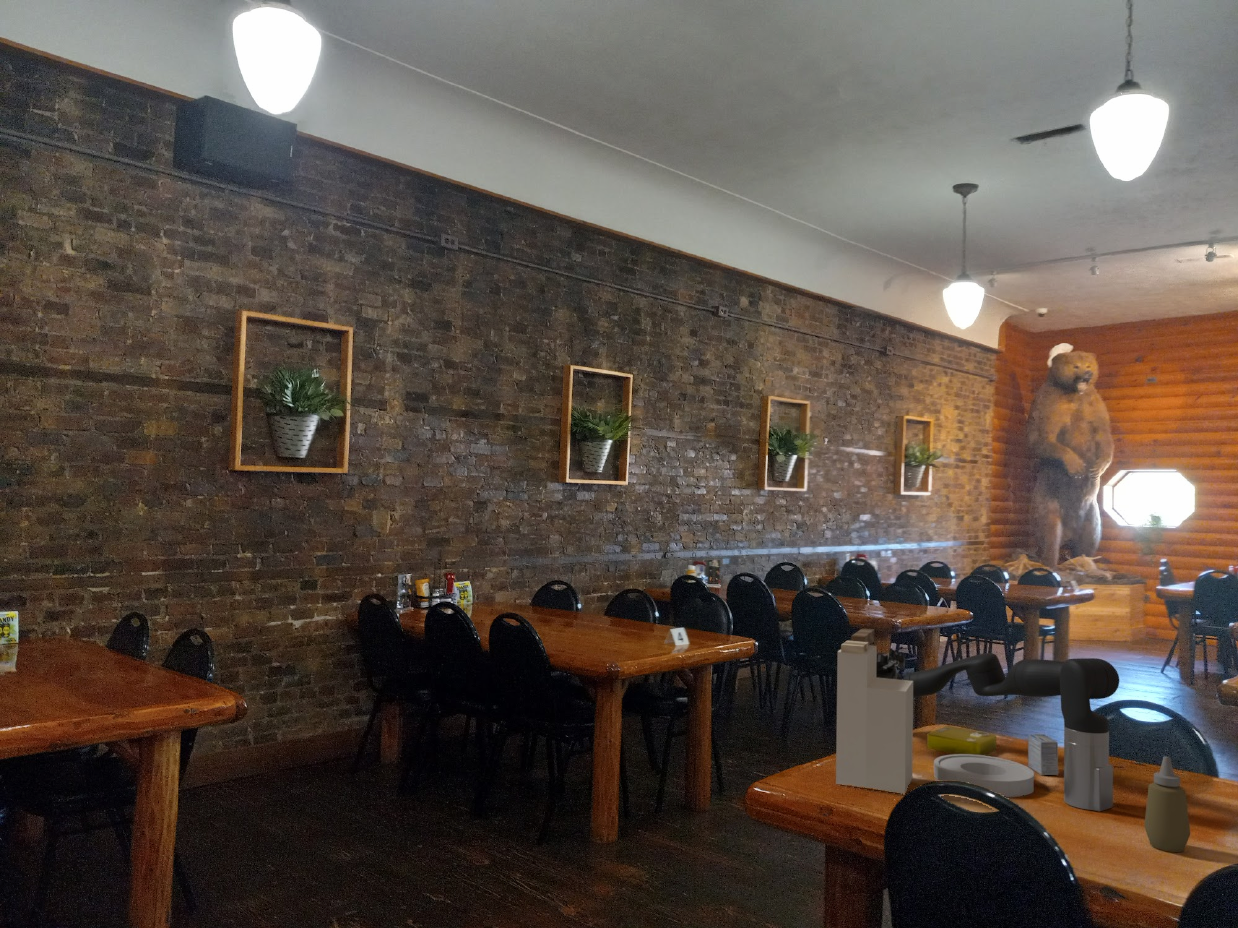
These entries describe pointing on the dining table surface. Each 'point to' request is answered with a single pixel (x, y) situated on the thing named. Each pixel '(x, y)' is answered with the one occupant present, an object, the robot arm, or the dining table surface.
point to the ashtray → (986, 773)
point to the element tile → (961, 741)
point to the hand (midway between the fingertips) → (874, 649)
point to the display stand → (873, 725)
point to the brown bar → (859, 642)
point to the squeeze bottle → (1167, 811)
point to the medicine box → (1043, 754)
